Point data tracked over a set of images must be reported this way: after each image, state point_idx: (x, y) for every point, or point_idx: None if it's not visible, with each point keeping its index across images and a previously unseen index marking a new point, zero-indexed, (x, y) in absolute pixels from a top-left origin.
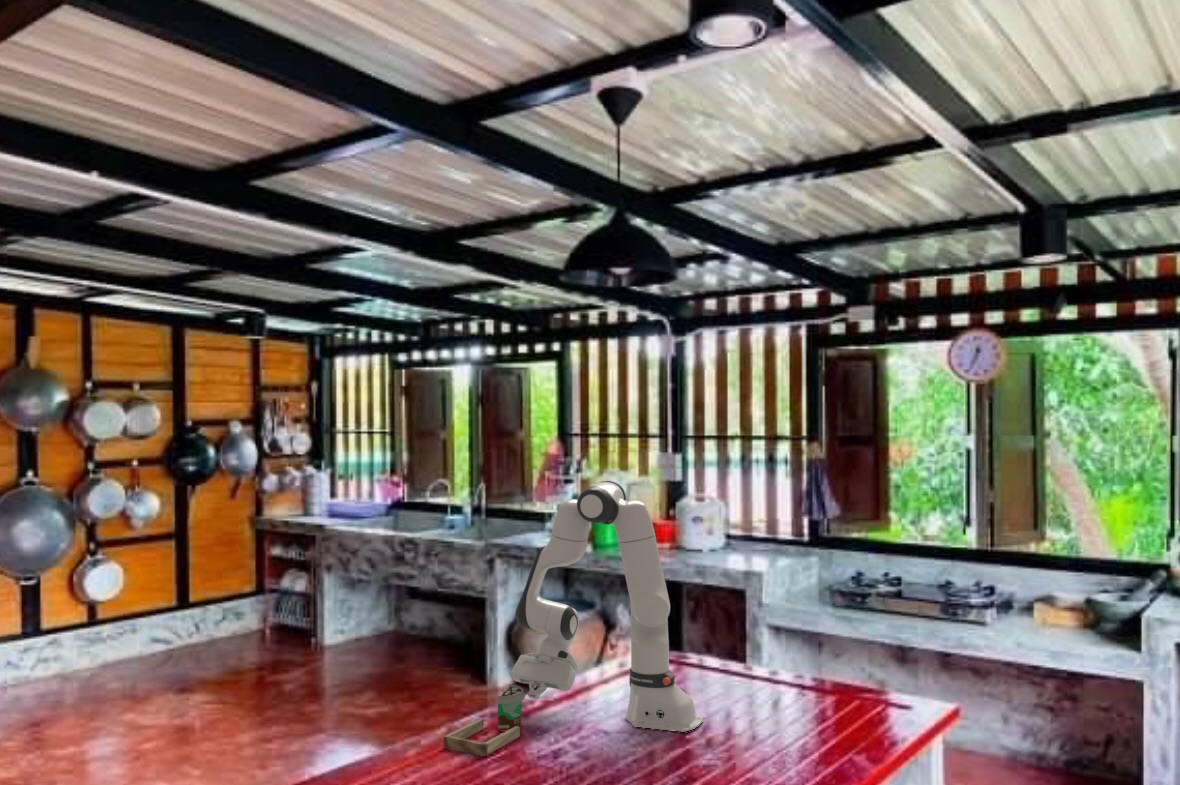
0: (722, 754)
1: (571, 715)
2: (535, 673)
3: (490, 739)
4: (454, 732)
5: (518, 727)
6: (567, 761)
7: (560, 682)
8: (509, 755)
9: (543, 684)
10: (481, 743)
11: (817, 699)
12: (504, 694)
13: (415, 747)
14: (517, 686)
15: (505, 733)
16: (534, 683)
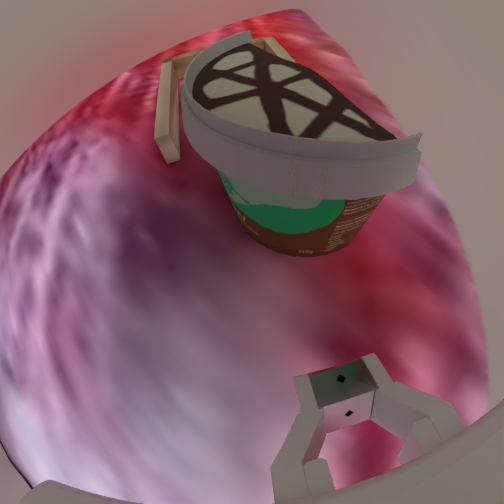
0: None
1: (169, 483)
2: (475, 501)
3: (171, 70)
4: (274, 46)
5: (154, 134)
6: (29, 175)
7: (65, 499)
8: (129, 108)
9: (282, 487)
10: (174, 58)
11: None
12: (278, 63)
13: (312, 44)
14: (342, 143)
15: (160, 96)
16: (414, 452)
